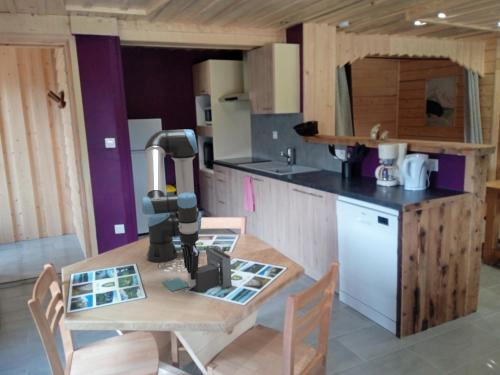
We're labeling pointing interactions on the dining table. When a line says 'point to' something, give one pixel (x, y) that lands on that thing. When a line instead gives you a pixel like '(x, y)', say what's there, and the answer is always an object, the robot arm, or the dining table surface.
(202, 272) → the plug
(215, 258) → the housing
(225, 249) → the mechanical component
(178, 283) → the mat
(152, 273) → the dining table surface
